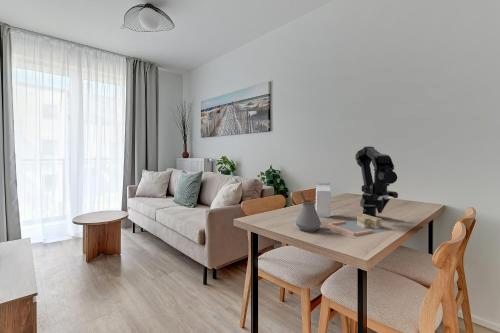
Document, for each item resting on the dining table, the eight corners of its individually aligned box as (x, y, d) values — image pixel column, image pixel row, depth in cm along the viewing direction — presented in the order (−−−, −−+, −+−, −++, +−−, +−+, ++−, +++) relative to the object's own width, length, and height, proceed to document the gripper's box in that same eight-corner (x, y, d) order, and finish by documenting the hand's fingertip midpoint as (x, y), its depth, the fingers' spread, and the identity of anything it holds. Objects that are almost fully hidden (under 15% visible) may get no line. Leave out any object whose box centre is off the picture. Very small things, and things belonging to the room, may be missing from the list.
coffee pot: (324, 232, 108) (325, 199, 107) (298, 232, 108) (299, 199, 107) (311, 219, 130) (311, 191, 129) (289, 219, 129) (289, 191, 128)
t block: (363, 221, 122) (363, 214, 122) (381, 227, 113) (382, 218, 113) (351, 223, 118) (352, 215, 118) (369, 229, 109) (370, 220, 109)
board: (356, 221, 126) (356, 218, 125) (390, 232, 109) (390, 227, 109) (325, 227, 116) (325, 222, 116) (356, 239, 100) (356, 234, 100)
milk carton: (330, 218, 131) (330, 183, 130) (316, 218, 132) (317, 183, 131) (328, 215, 138) (329, 182, 137) (315, 214, 139) (316, 181, 138)
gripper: (378, 178, 130) (377, 207, 131) (353, 180, 122) (352, 211, 123) (399, 180, 120) (398, 212, 121) (373, 182, 112) (372, 216, 113)
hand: (379, 212), depth 119 cm, fingers closed
